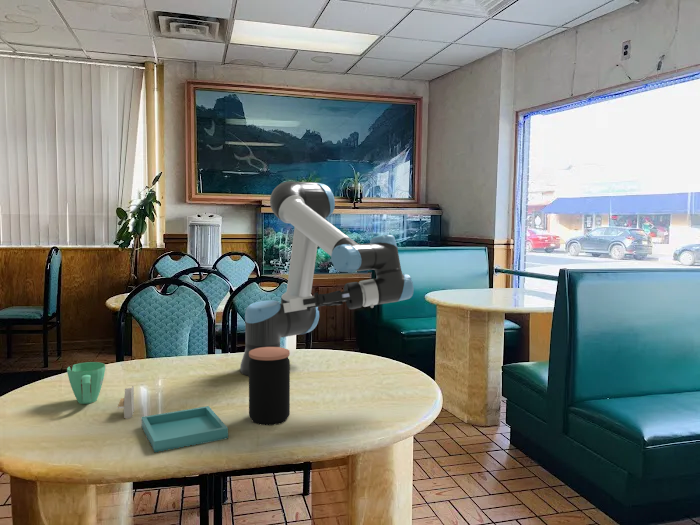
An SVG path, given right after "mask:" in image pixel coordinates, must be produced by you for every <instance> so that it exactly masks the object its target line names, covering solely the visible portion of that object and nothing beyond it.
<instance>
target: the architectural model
mask: <svg viewBox="0 0 700 525" xmlns="http://www.w3.org/2000/svg"><path fill="white" fill-rule="evenodd" d="M131 386H132V387H129V388H127V387H125V388H124V398H122V397H121V398H120V399H119V401H118V402H119V403H118V404H117V405H118V406H117V409H123V419H124V418H127V419H132V418H133V416H134V413H135V397H134V394H135V393H134V385H131ZM133 412H134V413H133ZM132 415H133V416H132ZM131 417H132V418H131Z"/></svg>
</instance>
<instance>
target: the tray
mask: <svg viewBox="0 0 700 525" xmlns="http://www.w3.org/2000/svg"><path fill="white" fill-rule="evenodd" d="M140 418H141V429H142V430H144V431H143V433H144V435H145V436H147V437H146V439H147V441H148V440H149V441H148V443H149V442H150V443H149V444H151V445H150V446H152V447H151V448H153V449H152V450H154V451H153V452H154V453H155V452H156V453H159V451H161V452H165V451H164V450H166V451H169V450H168V449H171V450H175V449H174V448H176V449H180V448H179V447H181V448H185V447H184V446H187V447H190V445H192V446H195V445H196V444H197V445H201V444H206V443H212V442H217V441H222V439H223V440H226V439H227V438H228V439H229V428H228V426H227V425H226V424H225V423H224V422H223V421H222V419H221V418H220V417H219V416H218V415H217V414H216V412H214V410H213V409H212V408H211V407H210V406H209V405H208V406H207V405H206V406H200V407H193V408H189V409H182V410H177V411H170V412H164V413H157V414H156V413H155V414H151V415H144V416H141V417H140ZM228 439H227V440H228Z"/></svg>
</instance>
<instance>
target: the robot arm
mask: <svg viewBox="0 0 700 525" xmlns="http://www.w3.org/2000/svg"><path fill="white" fill-rule="evenodd" d="M333 193H334V192H332V189H331V188H330V187H329V186H328V185H326V184H324V183H320V182H316V181H315V182H314V181H312V182H310V181H284V182H281V183H280V184H278V185H277V186H276V187H275V188H274V189H273V190H272V192H271V194H270V199H269V204H270V208H271V211H272V213H273V214H274V216H276V217H277V218H278V219H279V220H280V221H281V222H283V223H284V224H290V225H291V226H293V228H294V229H293V230H294V231H293V237H292V238H293V239H292V244H291V246H292V247H291V254H290V261H289V269H288V277H287V287H286V291H285V292H284V293H283V294H282V295H281V298H280V299H281V300H280V301H278V300H273V299H272V300H271V299H268V300H259V301H255V302H252V303H251V304H249V305H248V306H247V307H246V308H245V312H244V313H245V315H244V321H245V324H244V326H245V336H244V337H245V349H244V352H243V356H242V358H241V362H240V367H239V368H240V369H239V370H240V373H241V374H242V375H245V376H248V377H249V360H250V359H251V358H250V357H249V351H251V350H253V349H256V348H261V347H280V348H281V338H286V337H292V336H297V335H299V336H300V335H305V334H307V333H311V332H312V331H314V329H316V327H317V325H318V324H319V319H320V310H319V307H320V308H321V307H331V306H335V307H336V306H341V305H344V303H343V302H345V303H346V306H347V309H349V310H355V309H360V308H362V307H364V308H366V307H370V308H371V309H373V308H374V306H377V305H378V306H379V305H384V304H390V303H397V302H400V301H401V302H402V301H405V300H409V299H411V298H412V297H413V295H414V291H415V288H414V283H413V281H412V276H410V275H409V274H408V273H403V271H402V268H401V262H400V261H401V260H400V255H399V251H398V250H399V248H398V245H397V241H396V238H395V236H394V235H392V234H385V235H379V236H374V237H372V238H371V239H370V240H369V242H370V243H359V242H358V243H357V242H356V241H355V240H353V239H352V238H351V237H349V236H348V235H347V234H345V233H344V232H342V231H341V230H340V229H338V228H337V227H336V226H334V225H333V224H332V223H331V222H329V221H328V220H326V219H327V218H329V217H331V215H332V214H333V213H334V210H335V207H336V206H335V205H336V203H335V202H336V201H335V195H334V194H333ZM318 248H320V249H321V250H322V251H323V252H325V253H326V254H327V255H328V256H330V262H331V264H332V265H333V268H334V269H335V270H336V271H337V272H340V273H354V272H363V271H371V270H374V271H375V276H376V278H371V279H364V280H360V281H359V282H358V281H352V282H347V283H345V284H344V287H343V291H341V290H335V291H331V292H329V293H319V292H313V295H312V290H313V282H314V273H315V266H316V260H317V253H318V252H317V251H318Z"/></svg>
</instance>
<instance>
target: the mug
mask: <svg viewBox="0 0 700 525" xmlns="http://www.w3.org/2000/svg"><path fill="white" fill-rule="evenodd" d="M66 372H67V377H68V381H69V384H70V387H71V389H72V392H73V395H74V397H75V399H76V401H77V403H78V404H80V405H88V404H93V403H96V402H97V400H98V398H99V395H100V393H101V391H102V390H101V389H102V386H103V383H104V378H105V373H106V364H105V363H103V362H98V361H87V362H79V363H76V364H72V366H71V367H70V366H68V367H67V368H66ZM92 402H93V403H92Z"/></svg>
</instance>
